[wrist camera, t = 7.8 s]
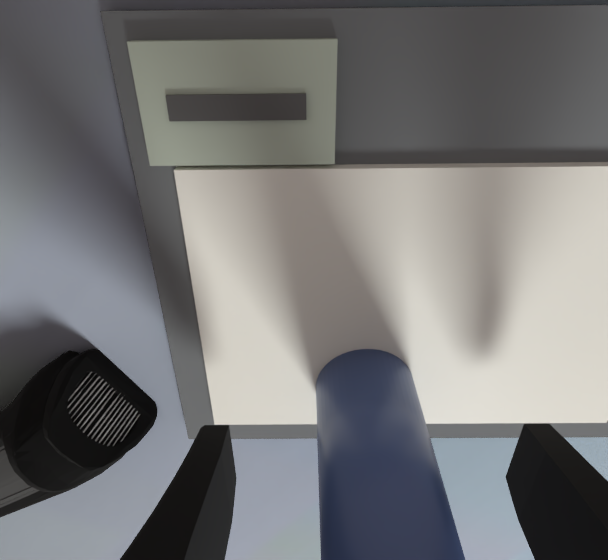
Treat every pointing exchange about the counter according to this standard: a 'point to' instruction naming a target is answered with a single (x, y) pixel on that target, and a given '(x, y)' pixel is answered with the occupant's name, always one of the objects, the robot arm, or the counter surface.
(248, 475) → the counter surface
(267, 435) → the desk mat
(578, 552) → the robot arm
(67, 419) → the electric trimmer
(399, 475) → the marker
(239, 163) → the word tile
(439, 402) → the paper
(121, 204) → the counter surface
